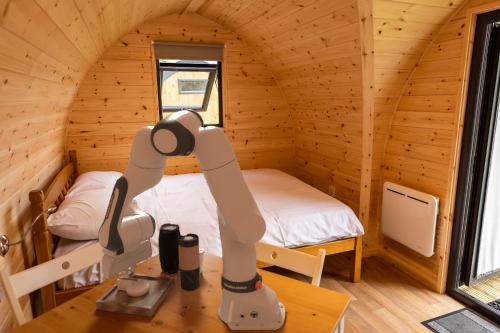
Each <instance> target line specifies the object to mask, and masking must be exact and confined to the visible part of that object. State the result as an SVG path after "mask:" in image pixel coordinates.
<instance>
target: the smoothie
mask: <svg viewBox="0 0 500 333" xmlns="http://www.w3.org/2000/svg"><path fill="white" fill-rule="evenodd" d="M205 251H206V250H205V248H203V247H201V246H199V259H200V274H201V273H202V272H203V262H204V255H205Z"/></svg>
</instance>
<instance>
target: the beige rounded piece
mask: <svg viewBox="0 0 500 333" xmlns="http://www.w3.org/2000/svg"><path fill="white" fill-rule="evenodd" d="M116 282H117V286H118V290H125V291H126V293H127V295H128V296H131V297H138V296H142V295H145V294H146V293H148V292H149V290H150V287H149V282H148V281H146V280H138V279H133V278H124V277H123V276H119V277H118V278H117V279H116Z"/></svg>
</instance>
